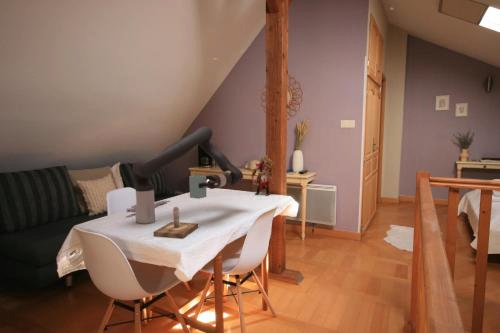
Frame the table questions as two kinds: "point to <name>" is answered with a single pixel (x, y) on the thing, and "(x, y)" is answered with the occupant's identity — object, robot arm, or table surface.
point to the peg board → (176, 233)
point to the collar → (197, 186)
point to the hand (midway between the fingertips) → (194, 185)
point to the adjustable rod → (154, 202)
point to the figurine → (263, 175)
